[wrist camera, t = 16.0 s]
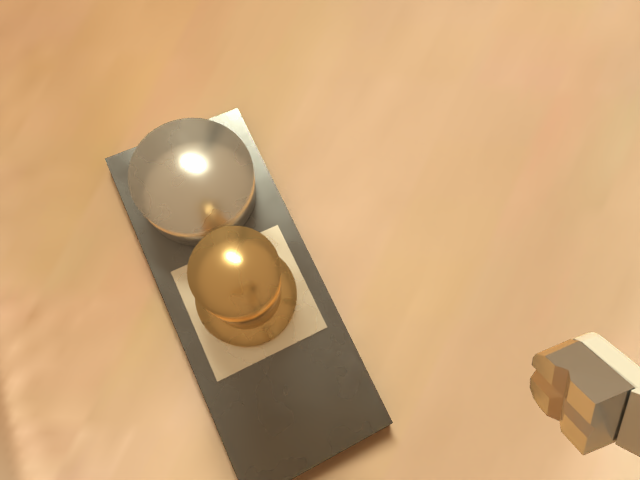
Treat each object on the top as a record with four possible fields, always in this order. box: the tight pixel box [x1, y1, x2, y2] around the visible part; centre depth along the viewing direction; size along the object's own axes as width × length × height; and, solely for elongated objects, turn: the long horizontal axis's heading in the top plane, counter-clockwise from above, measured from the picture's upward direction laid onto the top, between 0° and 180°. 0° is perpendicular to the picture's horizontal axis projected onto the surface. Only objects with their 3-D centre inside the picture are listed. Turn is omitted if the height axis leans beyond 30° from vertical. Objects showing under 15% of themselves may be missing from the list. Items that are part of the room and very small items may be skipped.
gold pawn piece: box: [187, 226, 297, 347], centre depth 23 cm, size 6×6×9 cm
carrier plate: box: [105, 108, 393, 480], centre depth 27 cm, size 22×9×4 cm, turn 26°
